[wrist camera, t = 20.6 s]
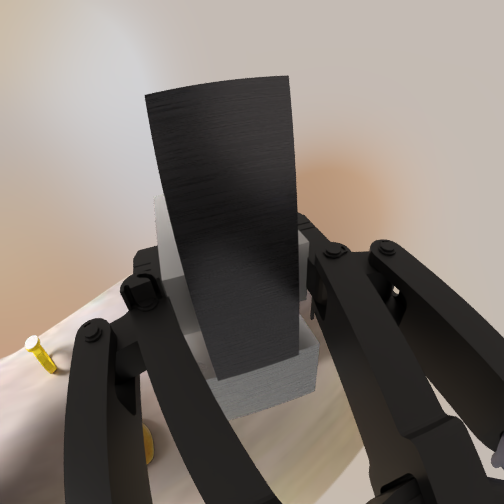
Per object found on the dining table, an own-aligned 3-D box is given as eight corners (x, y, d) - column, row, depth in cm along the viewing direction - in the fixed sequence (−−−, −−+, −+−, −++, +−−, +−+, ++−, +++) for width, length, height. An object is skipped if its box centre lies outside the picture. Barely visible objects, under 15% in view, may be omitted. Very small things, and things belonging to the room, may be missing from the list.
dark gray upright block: (213, 428, 13) (99, 107, 5) (199, 377, 16) (117, 104, 8) (316, 393, 14) (325, 75, 6) (290, 349, 17) (275, 78, 9)
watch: (40, 361, 37) (20, 337, 33) (51, 352, 38) (32, 327, 35) (52, 382, 33) (29, 357, 30) (64, 371, 35) (42, 346, 32)
